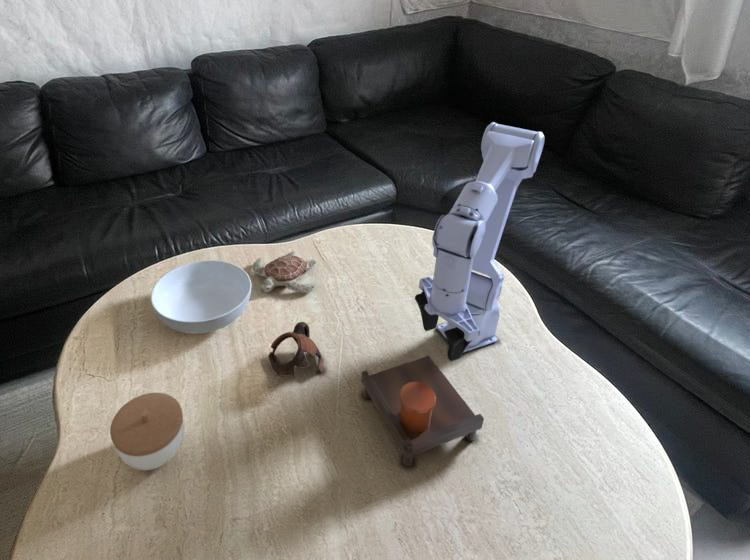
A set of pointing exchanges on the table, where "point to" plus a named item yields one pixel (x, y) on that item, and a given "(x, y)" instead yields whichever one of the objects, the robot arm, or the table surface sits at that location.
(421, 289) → the robot arm
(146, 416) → the trinket box
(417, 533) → the table surface
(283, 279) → the decorative turtle
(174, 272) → the serving bowl
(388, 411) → the footed tray
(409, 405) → the terracotta pot
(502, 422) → the table surface
